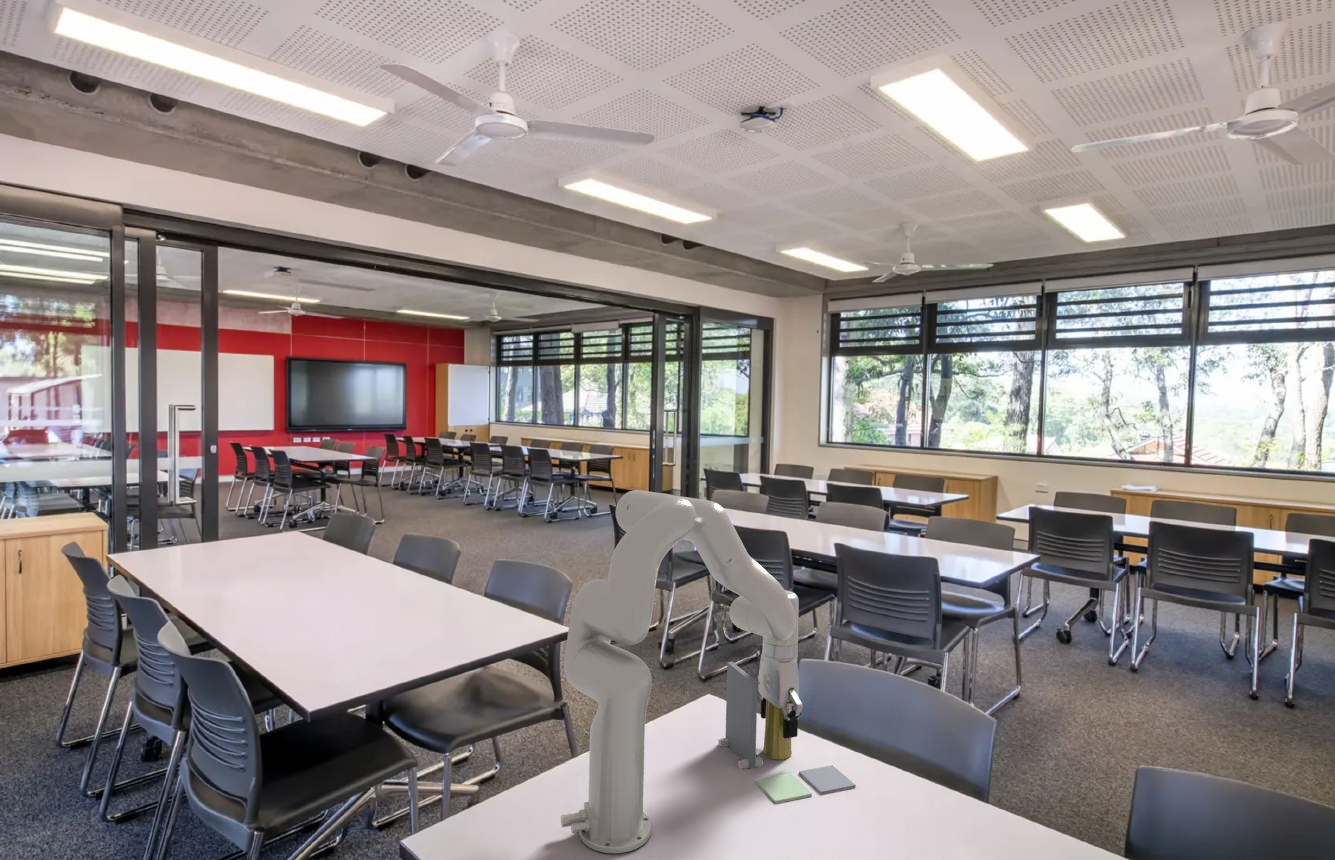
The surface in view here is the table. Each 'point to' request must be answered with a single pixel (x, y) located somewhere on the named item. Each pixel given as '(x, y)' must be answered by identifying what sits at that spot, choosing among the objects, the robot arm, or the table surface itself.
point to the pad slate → (827, 779)
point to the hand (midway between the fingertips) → (778, 726)
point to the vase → (775, 734)
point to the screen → (741, 716)
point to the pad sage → (783, 788)
